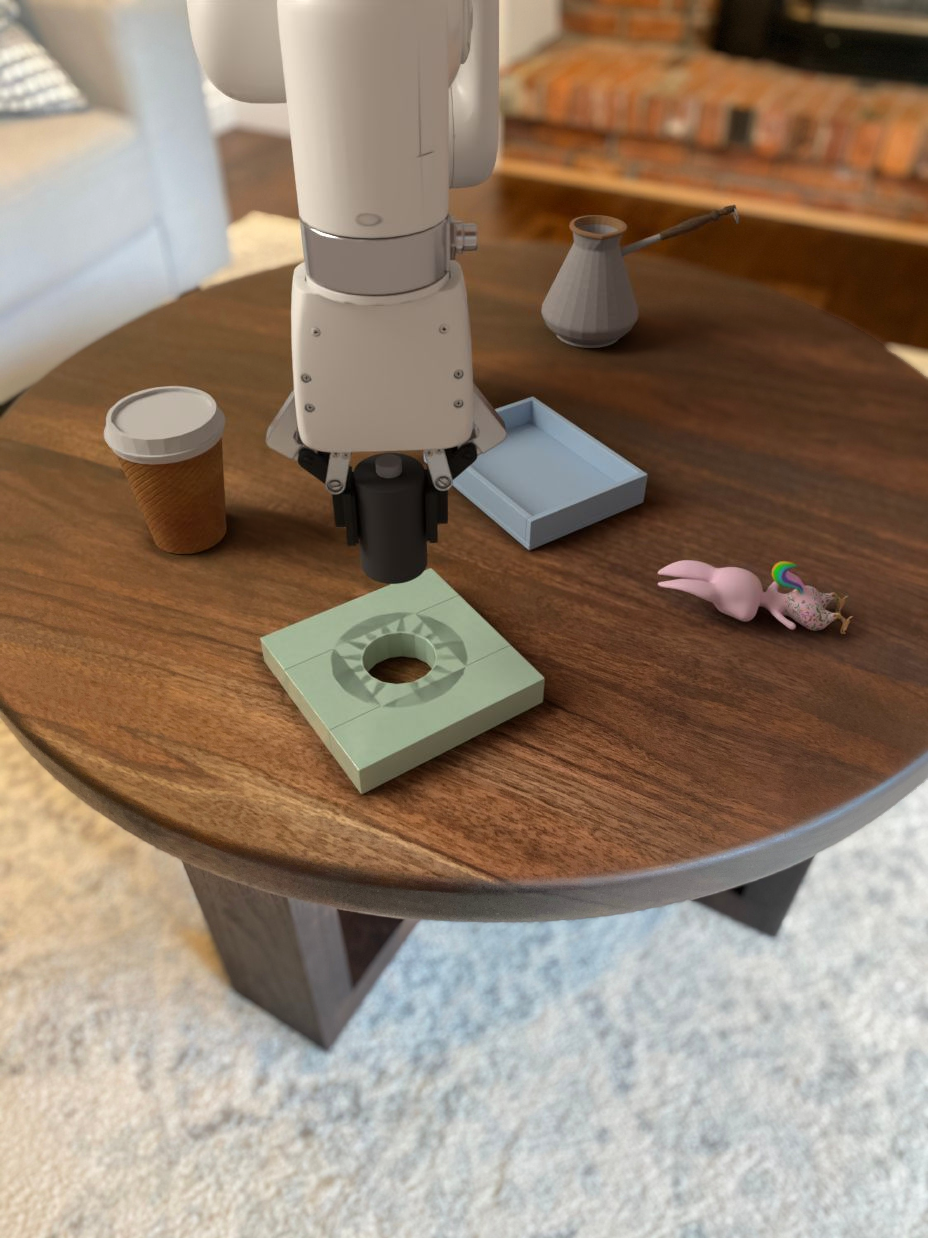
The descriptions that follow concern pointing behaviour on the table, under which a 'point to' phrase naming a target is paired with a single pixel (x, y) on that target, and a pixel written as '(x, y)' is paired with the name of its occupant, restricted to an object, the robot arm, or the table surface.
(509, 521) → the tray
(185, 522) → the disposable coffee cup
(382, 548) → the plug
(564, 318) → the coffee pot
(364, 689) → the drain plate
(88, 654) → the table surface
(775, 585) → the rabbit figure
